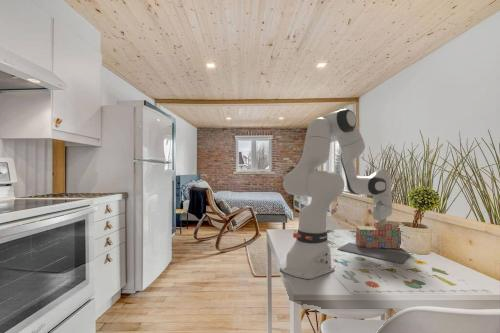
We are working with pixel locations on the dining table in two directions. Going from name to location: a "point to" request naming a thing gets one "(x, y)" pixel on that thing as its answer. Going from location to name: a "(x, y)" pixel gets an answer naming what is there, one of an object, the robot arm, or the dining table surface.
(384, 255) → the charcoal rubber mat
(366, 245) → the stack of blocks
